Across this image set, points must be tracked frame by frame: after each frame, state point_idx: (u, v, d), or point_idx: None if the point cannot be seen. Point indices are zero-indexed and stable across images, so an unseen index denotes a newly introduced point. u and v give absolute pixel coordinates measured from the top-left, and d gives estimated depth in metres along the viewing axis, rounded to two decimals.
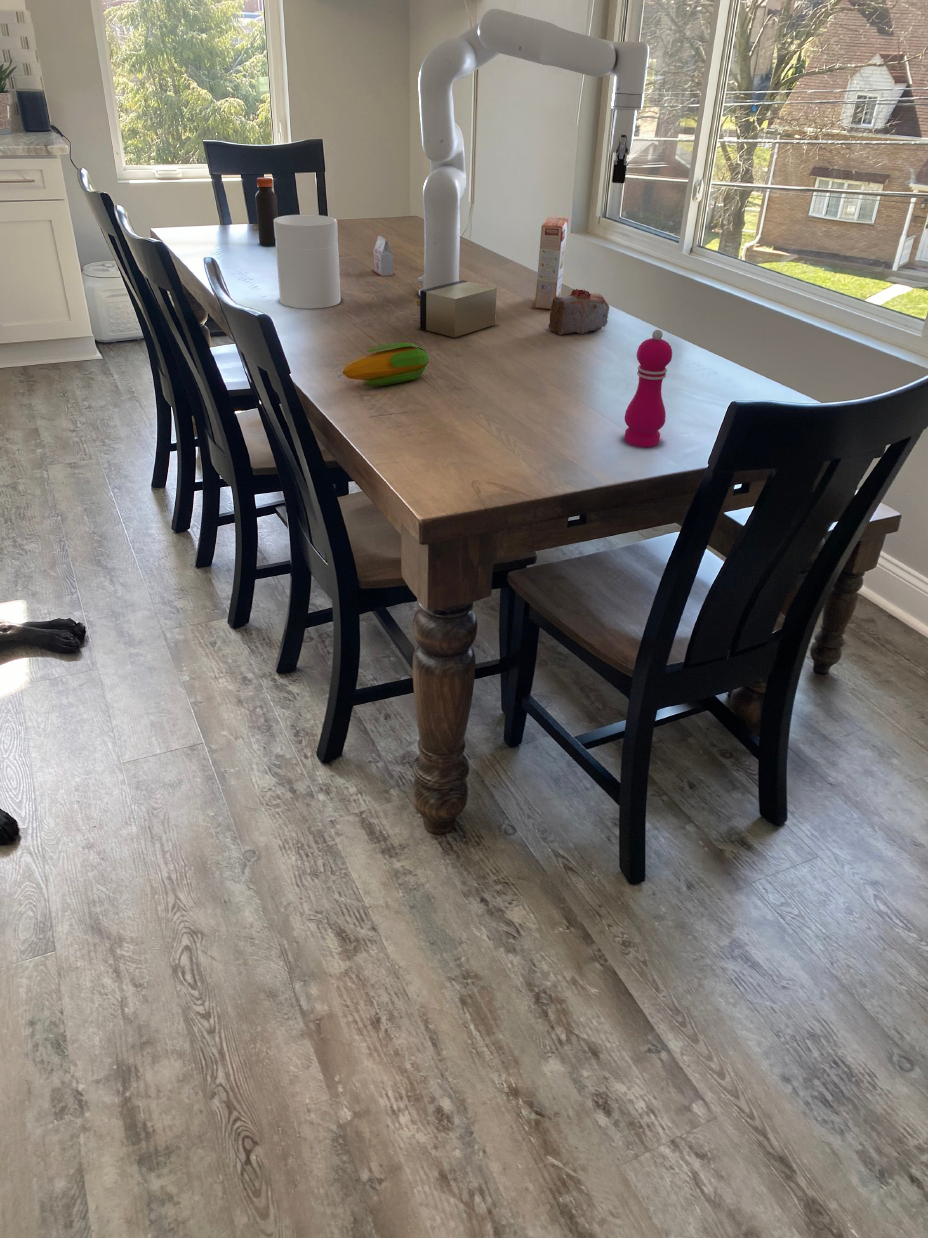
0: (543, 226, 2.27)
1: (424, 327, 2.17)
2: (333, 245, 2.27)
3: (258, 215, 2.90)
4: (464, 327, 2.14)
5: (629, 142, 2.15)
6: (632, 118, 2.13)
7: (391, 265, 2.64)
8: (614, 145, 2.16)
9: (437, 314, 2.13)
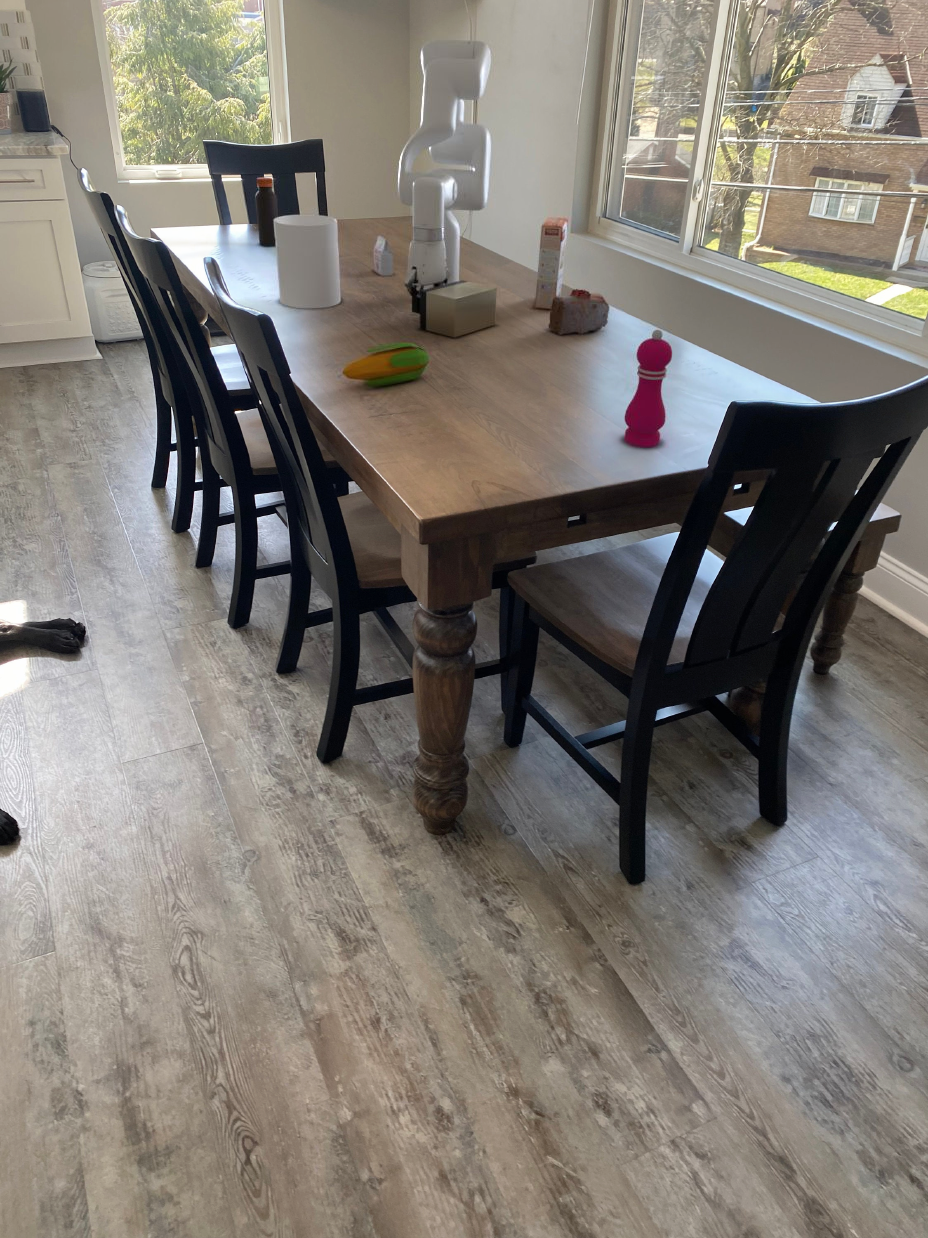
0: (543, 226, 2.27)
1: (424, 327, 2.17)
2: (333, 245, 2.27)
3: (258, 215, 2.90)
4: (464, 327, 2.14)
5: (419, 274, 2.15)
6: (421, 251, 2.13)
7: (391, 265, 2.64)
8: (408, 275, 2.17)
9: (437, 314, 2.13)
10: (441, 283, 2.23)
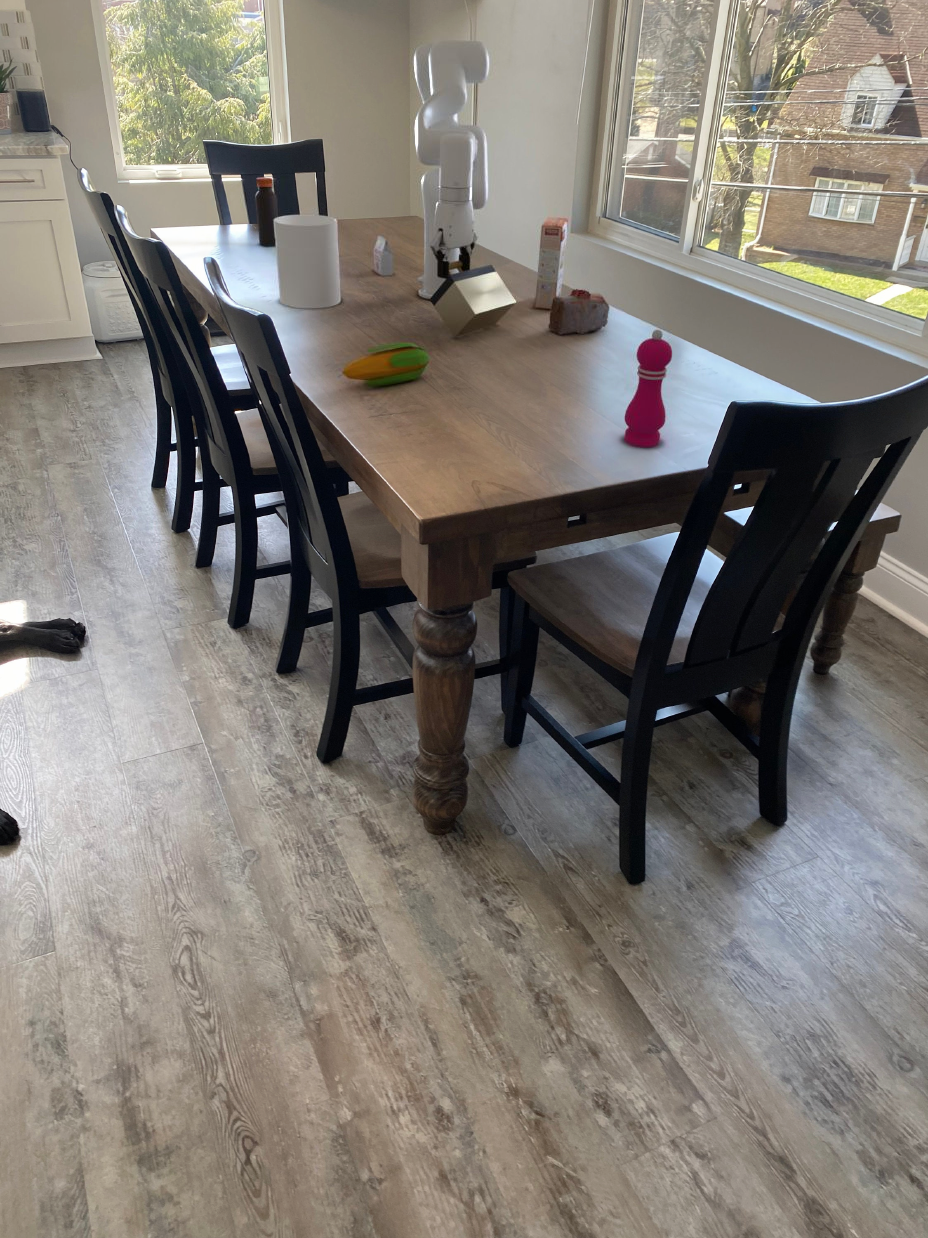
0: (543, 226, 2.27)
1: (433, 302, 2.12)
2: (333, 245, 2.27)
3: (258, 215, 2.90)
4: (467, 330, 2.14)
5: (446, 236, 2.06)
6: (448, 212, 2.03)
7: (391, 265, 2.64)
8: (434, 237, 2.08)
9: (451, 306, 2.09)
10: (468, 247, 2.13)
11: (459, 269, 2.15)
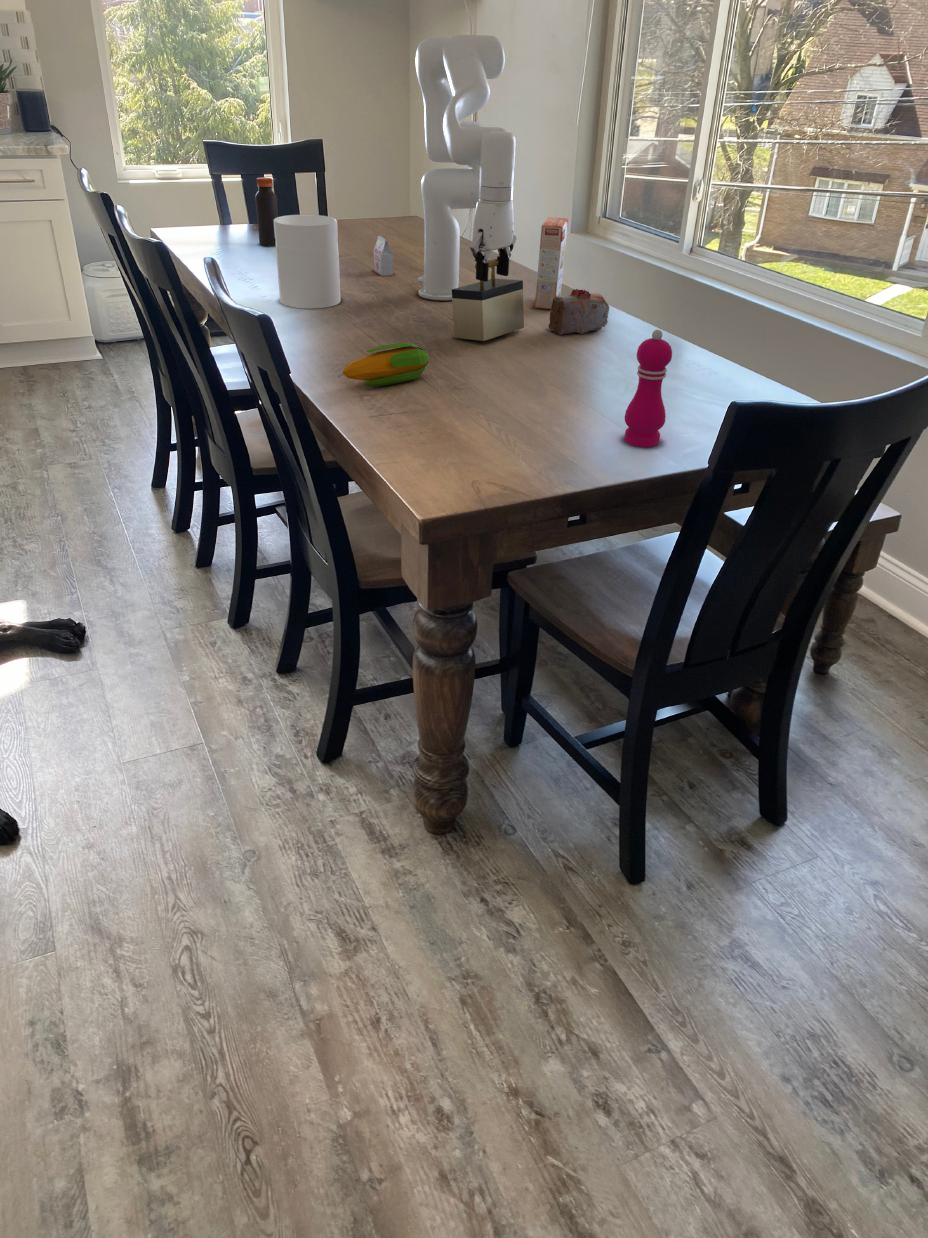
0: (543, 226, 2.27)
1: (453, 295, 2.07)
2: (333, 245, 2.27)
3: (258, 215, 2.90)
4: None
5: (486, 237, 1.99)
6: (489, 212, 1.96)
7: (391, 265, 2.64)
8: (473, 239, 2.01)
9: (467, 315, 2.07)
10: (507, 248, 2.06)
11: (492, 270, 2.09)
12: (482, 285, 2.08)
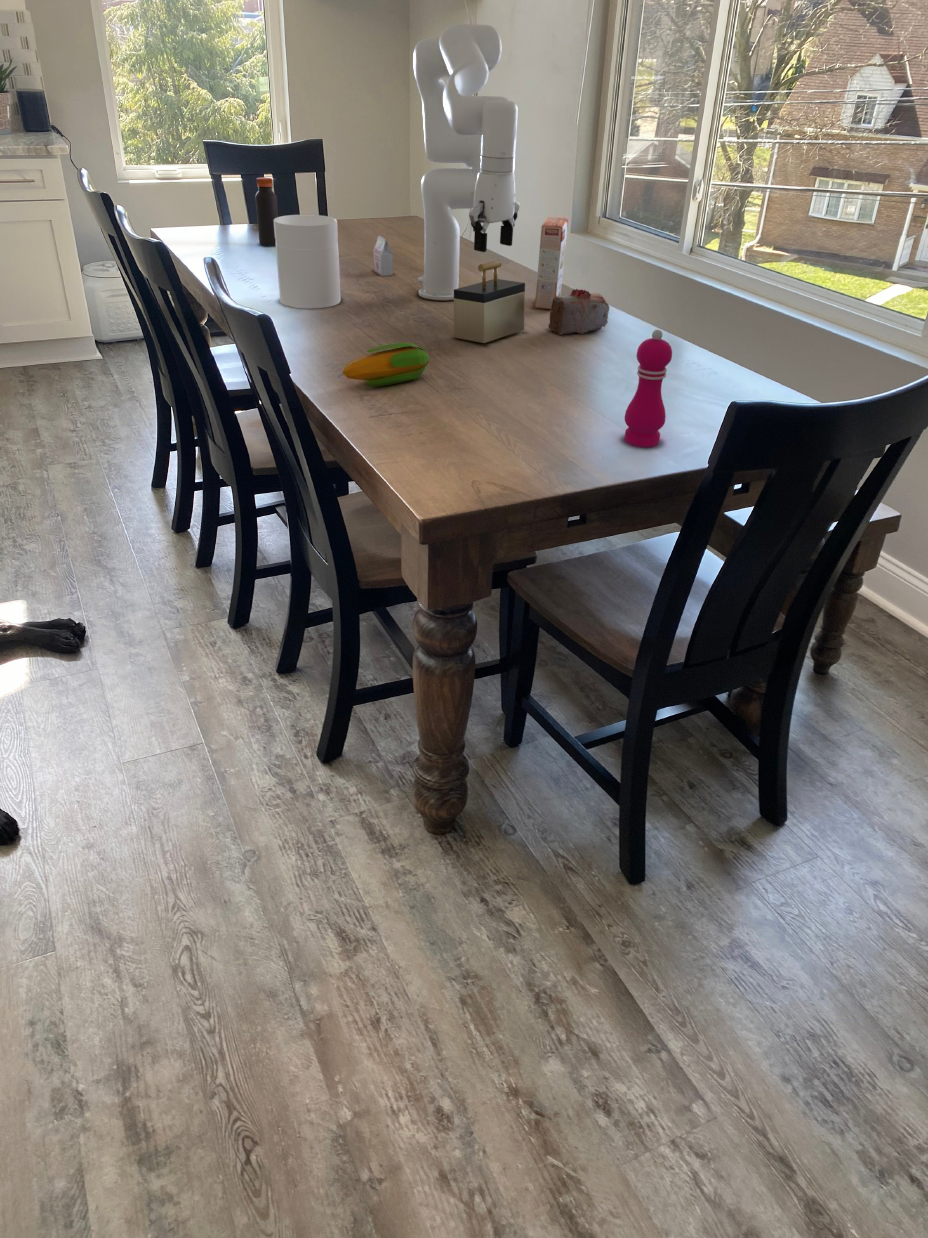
0: (543, 226, 2.27)
1: (455, 296, 2.07)
2: (333, 245, 2.27)
3: (258, 215, 2.90)
4: None
5: (487, 209, 1.96)
6: (490, 183, 1.93)
7: (391, 265, 2.64)
8: None
9: (468, 316, 2.07)
10: (511, 217, 2.04)
11: (495, 271, 2.09)
12: (484, 286, 2.08)
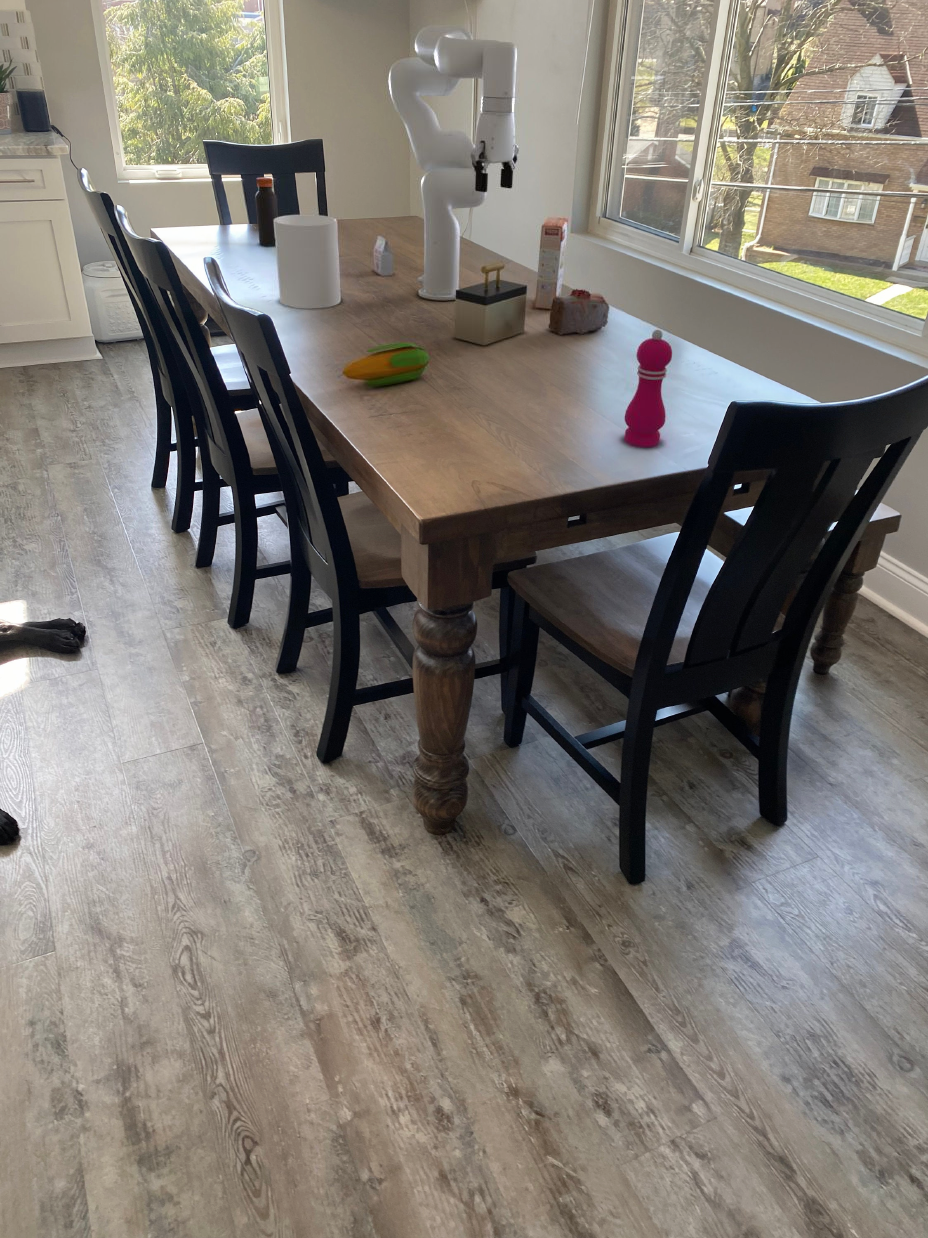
0: (543, 226, 2.27)
1: (457, 296, 2.07)
2: (333, 245, 2.27)
3: (258, 215, 2.90)
4: None
5: (488, 149, 2.02)
6: (490, 123, 1.99)
7: (391, 265, 2.64)
8: None
9: (469, 317, 2.07)
10: (511, 159, 2.10)
11: (498, 273, 2.09)
12: (486, 288, 2.07)
